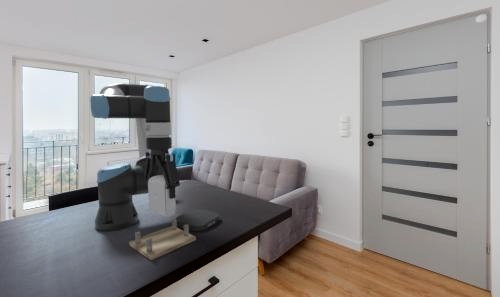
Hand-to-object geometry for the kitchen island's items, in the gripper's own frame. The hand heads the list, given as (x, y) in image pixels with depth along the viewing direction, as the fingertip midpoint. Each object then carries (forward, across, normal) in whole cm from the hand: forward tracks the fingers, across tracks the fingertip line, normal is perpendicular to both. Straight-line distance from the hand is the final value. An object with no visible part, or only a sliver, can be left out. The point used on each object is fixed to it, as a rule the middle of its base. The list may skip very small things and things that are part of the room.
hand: (161, 204), depth 79 cm
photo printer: (+3, 0, 0) cm, 3 cm away
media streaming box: (+13, -5, +18) cm, 23 cm away
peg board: (+13, 0, 0) cm, 13 cm away
